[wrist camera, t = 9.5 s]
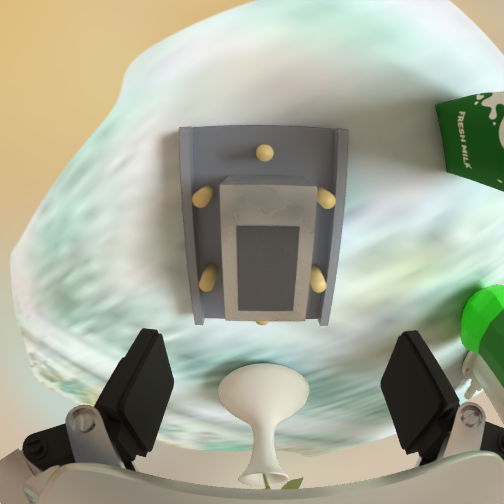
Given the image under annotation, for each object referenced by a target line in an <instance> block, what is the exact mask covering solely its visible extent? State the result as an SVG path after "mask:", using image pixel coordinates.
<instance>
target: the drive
mask: <svg viewBox="0 0 504 504" xmlns="http://www.w3.org/2000/svg"><path fill="white" fill-rule="evenodd" d="M316 201H317V186H316V185H315V184H313V183H312V182H311V181H309V180H308V179H307V178H305V177H304V176H285V175H229V176H228V177H227V178H226V179H225V180H224V181H223V182H222V183H221V184H220V218H221V244H222V267H223V286H224V304H225V320H229V321H305V316H306V309H307V300H308V292H309V283H310V274H311V264H312V254H313V242H314V230H315V217H316Z"/></svg>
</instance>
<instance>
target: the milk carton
mask: <svg viewBox="0 0 504 504" xmlns="http://www.w3.org/2000/svg"><path fill="white" fill-rule="evenodd" d="M435 106H436V111H437V115H438V119H439V124H440V129H441V134H442V140H443V146H444V152H445V159H446V167H447V172H448V173H452V174H455V175H458V176H461V177H464V178H467V179H470V180H473V181H476V182H479V183H481V184H484V185H487V186H490V187H493V188H495V189H498V190H501V191H503V192H504V92H489V93H481V94H475V95H471V96H467V97H463V98H460V99H456V100H452V101H449V102H445V103H442V104H438V105H435Z"/></svg>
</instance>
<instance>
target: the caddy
mask: <svg viewBox="0 0 504 504" xmlns="http://www.w3.org/2000/svg"><path fill="white" fill-rule="evenodd" d="M179 147H180V174H181V193H182V209H183V222H184V234H185V245H186V256H187V265H188V274H189V283H190V291H191V299H192V307H193V314H194V321H195V325H203V323H204V320H205V318H222V319H225V304H224V286H223V267H222V244H221V218H220V184H221V183H222V182H223V181H224V180H225V179H226V178H227V177H228V176H229V175H285V176H304V177H305V178H307V179H308V180H309V181H311V182H312V183H313V184H315V185H316V186H317V201H316V217H315V230H314V242H313V254H312V264H311V274H310V283H309V292H308V300H307V309H306V316H305V319H318V321H319V324H320V326H328V322H329V316H330V311H331V305H332V299H333V293H334V287H335V281H336V274H337V267H338V259H339V252H340V243H341V235H342V225H343V215H344V204H345V191H346V176H347V157H348V129H339V128H338V129H328V128H316V127H301V126H279V125H229V126H207V127H179ZM268 322H269V321H256V323H257V324H259V325H265V324H267V323H268Z"/></svg>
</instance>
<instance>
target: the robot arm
mask: <svg viewBox="0 0 504 504" xmlns="http://www.w3.org/2000/svg"><path fill="white" fill-rule="evenodd" d="M462 373H463V375H464V376H465V377H466V378H468V379H471V380H472V381H471V385H470V387H469V388H468V389H467V390H466V392H465V393H464V397H465V398H466V399H471V397H472V396H473V395H474V393H475V392H476V390H478V391H480V390H481V389H482V388H483V390H484V391H485V393H486V395H487V396H488V398H489V399H490V401H491V403H492V405H493V406H494V408H495V410H496V411H497V413H498V415H499V417H500V418H501V420H502V422H503V424H504V405H503V401H504V388H503V387H502V385H501V384H500V382H499V381H498V379H497V378H496V376H495V375H494V373H493V372H492V371H491V369H490V368H489V366H488V365H487V364H486V362H485V361H484V360H483V358H482V357H481V356H480V355H478V354H476V353H474V352H472V351H469V352H468V354H467V356H466V358H465V360H464V362H463V365H462ZM173 386H174V378H173V375H172V371H171V368H170V364H169V360H168V356H167V353H166V349H165V345H164V340H163V336H162V334H159V333H158V331H157V330H154V329H146V328H143V329H142V330H141V331H140V333H139V334H138V336H137V338H136V339H135V341H134V343H133V344H132V346H131V348H130V349H129V351H128V353H127V354H126V356H125V357H124V358H122V359H121V360H120V362H119V363H118V365H117V367H116V368H115V370H114V372H113V373H112V375H111V377H110V379H109V380H108V382H107V384H106V386H105V388H104V389H103V391H102V393H101V395H100V396H99V398H98V400H97V402H96V404H95V406H94V407H92V406H90V405H79V406H77V407H74V408H73V409H72V410H71V411H70V412H69V413H68V415H67V417H66V423H65V424H62V425H59V426H56V427H53V428H50V429H46V430H43V431H40V432H37V433H34V434H31V435H29V436H28V437H27V438H26V439H25V441H24V443H23V449H22V450H19V449H17V450H15V451H13V452H12V453H10V454H9V455H7V456H6V457H5V458H3V459H1V460H0V502H1V504H504V428H502V427H499V426H497V425H494V424H491V423H489V422H486V421H485V419H486V416H485V413H484V411H483V409H482V408H481V407H480V406H479V405H478V404H476V403H473V402H466V403H464V404H462V405H461V406H460V404H459V401H460V400H459V398H458V397H457V395H456V393H455V391H454V389H453V388H452V386H451V384H450V382H449V381H448V379H447V377H446V375H445V374H444V372H443V370H442V369H441V367H440V365H439V364H438V362H437V360H436V359H435V357H434V356H433V354H432V352H431V351H430V349H429V348H428V346H427V345H426V343H425V341H424V340H423V338H422V337H421V335H420V334H419V332H418V331H416V330H414V331H405V332H403V333H402V335H401V336H399V337H398V340H397V342H396V345H395V348H394V350H393V353H392V355H391V358H390V360H389V363H388V365H387V368H386V370H385V372H384V375H383V377H382V379H381V389H382V392H383V395H384V397H385V400H386V403H387V406H388V409H389V411H390V414H391V417H392V420H393V423H394V426H395V429H396V432H397V435H398V438H399V442H400V445H401V447H402V449H405V451H406V454H407V455H408V454H411V453H415V452H418V453H419V458H418V460H417V463H416V465H415V467H414V468H412V469H409V470H405V471H402V472H398V473H395V474H391V475H387V476H383V477H379V478H374V479H369V480H364V481H359V482H354V483H348V484H342V485H334V486H326V487H316V488H303V489H280V490H262V489H238V488H224V487H216V486H207V485H200V484H194V483H188V482H181V481H176V480H171V479H166V478H161V477H157V476H153V475H148V474H144V473H140V472H139V471H138V469H137V468H136V465H135V464H134V460H135V457H136V455H139V456H143V457H146V455H147V452H151V451H152V449H153V446H154V443H155V440H156V437H157V434H158V431H159V428H160V425H161V422H162V419H163V416H164V413H165V410H166V407H167V404H168V401H169V398H170V395H171V392H172V390H173Z"/></svg>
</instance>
